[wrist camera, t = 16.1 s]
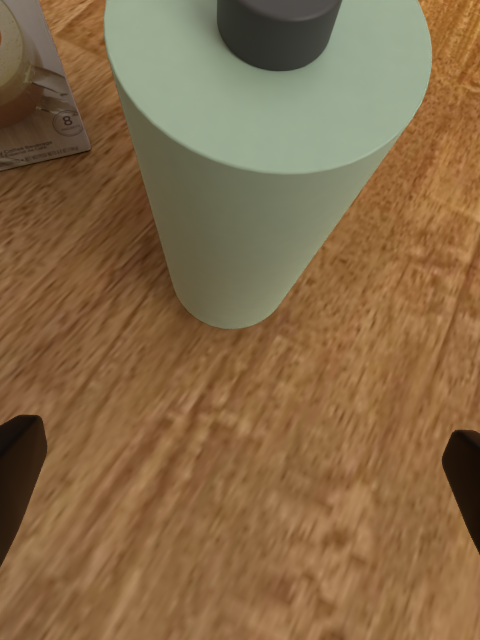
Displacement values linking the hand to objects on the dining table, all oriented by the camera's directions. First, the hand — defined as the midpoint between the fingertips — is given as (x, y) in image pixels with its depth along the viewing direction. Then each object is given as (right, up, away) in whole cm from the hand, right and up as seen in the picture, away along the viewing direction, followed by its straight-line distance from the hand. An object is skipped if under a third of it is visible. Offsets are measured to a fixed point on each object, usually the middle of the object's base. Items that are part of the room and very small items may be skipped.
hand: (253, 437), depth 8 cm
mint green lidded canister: (-1, +8, +13) cm, 15 cm away
